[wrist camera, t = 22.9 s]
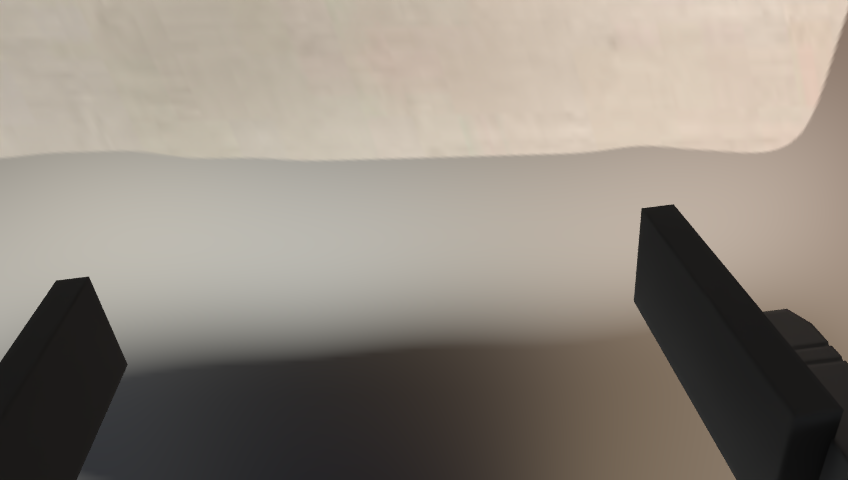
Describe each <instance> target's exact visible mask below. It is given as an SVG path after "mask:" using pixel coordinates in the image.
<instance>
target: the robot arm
mask: <svg viewBox="0 0 848 480" xmlns="http://www.w3.org/2000/svg"><path fill="white" fill-rule="evenodd" d="M634 302H635V304H636V306H637V307H638V309H639V311H640V313H641V314H642V316H643V318H644V320H645V321H646V323H647V325H648V326H649V328H650V330H651V332H652V334H653V335H654V337H655V339H656V340H657V342H658V344H659V346H660V347H661V349H662V351H663V353H664V354H665V356H666V358H667V360H668V361H669V363H670V365H671V367H672V368H673V370H674V372H675V373H676V375H677V377H678V379H679V381H680V382H681V384H682V386H683V387H684V389H685V391H686V393H687V394H688V396H689V398H690V400H691V401H692V403H693V405H694V407H695V408H696V410H697V412H698V414H699V415H700V417H701V419H702V420H703V422H704V424H705V426H706V428H707V429H708V431H709V433H710V435H711V436H712V438H713V440H714V441H715V443H716V445H717V447H718V448H719V450H720V452H721V454H722V455H723V457H724V459H725V460H726V462H727V464H728V466H729V468H730V469H731V471H732V473H733V475H734V476H735V478H736V480H848V363H847V362H846V361H843V360H842V357H841V355H840V354H839V353H838V352H837V351H836V350H835V349H834V348H833V347H832V346H829V345H828V341H827V340H826V339H825V338H824V337H823V336H822V335H821V333H820V332H819V331H818V330H817V329H816V328H815V327H814V326H813V325H812V324H811V323H810V322H808V321H806V320H805V319H803V318H801V317H800V316H798V315H796V314H795V313H793V312H791V311H790V310H788V309H783V310H774V311H766V312H762V311H761V309H760V308H759V307H758V306H757V304H756V303H755V302H754V301H753V300H752V299H751V297H750V296H749V295H748V294H747V292H746V291H745V290H744V289H743V288H742V286H741V285H740V284H739V283H738V282H737V280H736V279H735V278H734V277H733V276H732V274H731V273H730V272H729V271H728V270H727V268H726V267H725V266H724V265H723V264H722V262H721V261H720V260H719V259H718V257H717V256H716V255H715V254H714V253H713V251H712V250H711V249H710V248H709V247H708V245H707V244H706V243H705V242H704V241H703V240H702V238H701V237H700V236H699V235H698V233H697V232H696V231H695V230H694V228H692V226H691V225H690V224H689V222H688V221H687V220H686V219H685V218H684V216H683V215H682V214H681V213H680V212H679V211H678V209H677V208H676V207H675V206H674V205H665V206H658V207H649V208H642V211H641V223H640V235H639V246H638V259H637V271H636V282H635V295H634ZM126 367H127V362H126V360H125V358H124V356H123V353H122V351H121V349H120V347H119V344H118V342H117V340H116V337H115V335H114V333H113V330H112V328H111V326H110V324H109V321H108V319H107V317H106V315H105V312H104V310H103V308H102V305H101V303H100V301H99V299H98V296H97V294H96V292H95V290H94V287H93V285H92V283H91V280H90V278H89V277H82V278H74V279H66V280H58V281H56V282H55V283H54V285H53V286H52V288H51V289H50V290H49V292H48V294H47V295H46V296H45V298H44V299H43V301H42V302H41V304H40V305H39V307H38V308H37V309H36V311H35V312H34V314H33V315H32V317H31V318H30V320H29V321H28V323H27V324H26V325H25V327H24V329H23V330H22V331H21V333H20V334H19V336H18V337H17V339H16V340H15V342H14V343H13V344H12V346H11V348H10V349H9V350H8V352H7V353H6V355H5V356H4V358H3V359H2V360H1V362H0V480H77V477H78V475H79V473H80V471H81V468H82V466H83V464H84V461H85V459H86V457H87V455H88V453H89V450H90V448H91V446H92V444H93V441H94V439H95V437H96V435H97V432H98V430H99V427H100V426H101V423H102V421H103V419H104V417H105V414H106V412H107V410H108V407H109V405H110V403H111V401H112V398H113V396H114V394H115V392H116V389H117V387H118V385H119V383H120V380H121V378H122V376H123V373H124V371H125V369H126Z"/></svg>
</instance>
